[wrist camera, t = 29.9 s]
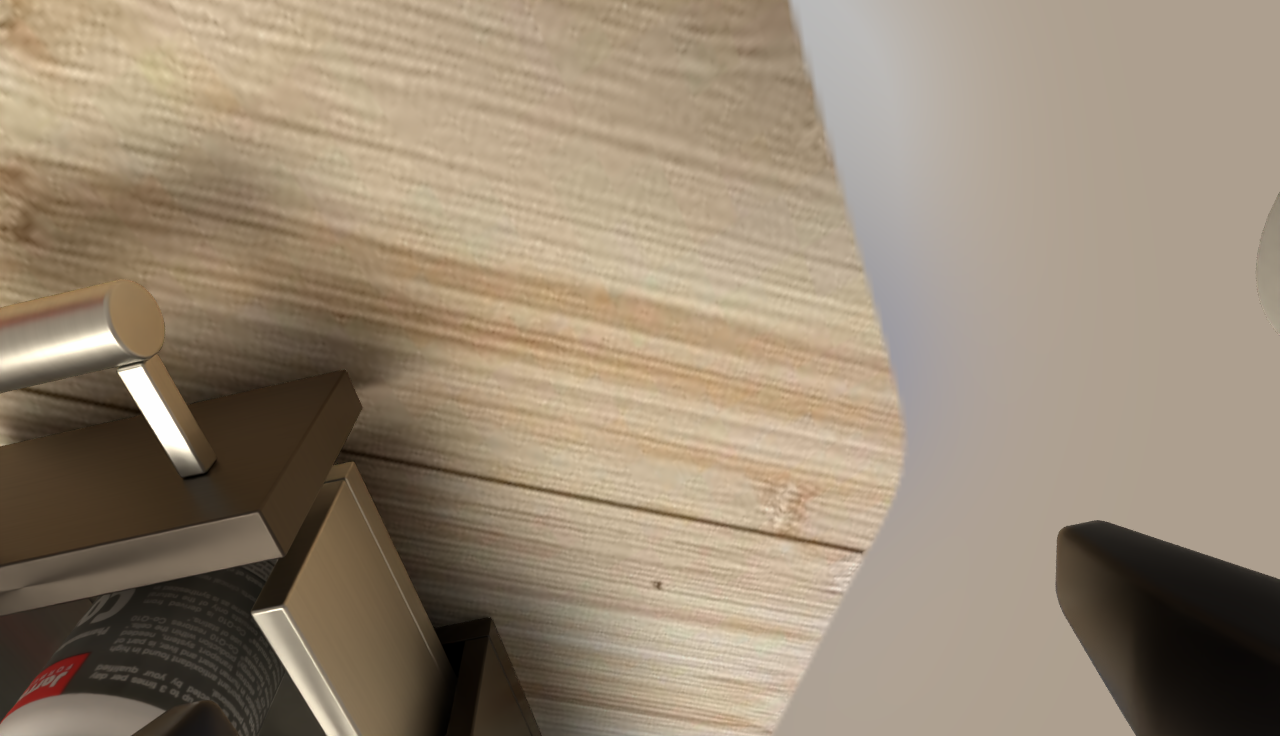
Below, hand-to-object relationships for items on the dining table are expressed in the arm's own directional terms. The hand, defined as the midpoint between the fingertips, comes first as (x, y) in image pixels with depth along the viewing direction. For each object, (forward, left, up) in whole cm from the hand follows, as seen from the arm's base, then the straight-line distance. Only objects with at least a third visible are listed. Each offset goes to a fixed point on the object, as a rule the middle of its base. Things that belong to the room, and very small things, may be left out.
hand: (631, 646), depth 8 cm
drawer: (+12, +5, -12) cm, 18 cm away
